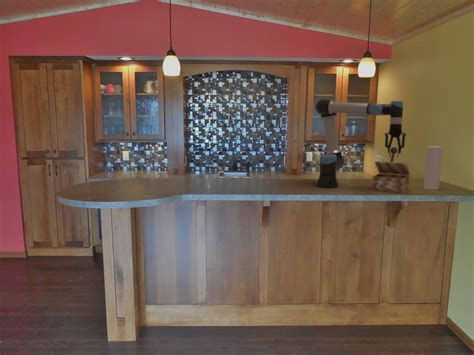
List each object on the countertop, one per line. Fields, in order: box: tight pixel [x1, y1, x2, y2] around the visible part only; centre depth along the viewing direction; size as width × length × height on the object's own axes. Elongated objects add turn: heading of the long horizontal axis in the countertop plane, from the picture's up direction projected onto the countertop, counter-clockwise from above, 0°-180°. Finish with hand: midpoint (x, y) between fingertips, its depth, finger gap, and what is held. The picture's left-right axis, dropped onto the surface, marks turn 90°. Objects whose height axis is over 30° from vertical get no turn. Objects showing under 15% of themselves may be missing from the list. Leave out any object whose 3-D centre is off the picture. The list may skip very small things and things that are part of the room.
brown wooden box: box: [371, 172, 410, 194], centre depth 239 cm, size 20×16×10 cm
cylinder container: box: [423, 145, 443, 191], centre depth 241 cm, size 9×9×30 cm
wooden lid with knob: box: [374, 146, 410, 176], centre depth 240 cm, size 20×16×14 cm
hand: (393, 157), depth 239 cm, fingers closed on wooden lid with knob, 4 cm apart
